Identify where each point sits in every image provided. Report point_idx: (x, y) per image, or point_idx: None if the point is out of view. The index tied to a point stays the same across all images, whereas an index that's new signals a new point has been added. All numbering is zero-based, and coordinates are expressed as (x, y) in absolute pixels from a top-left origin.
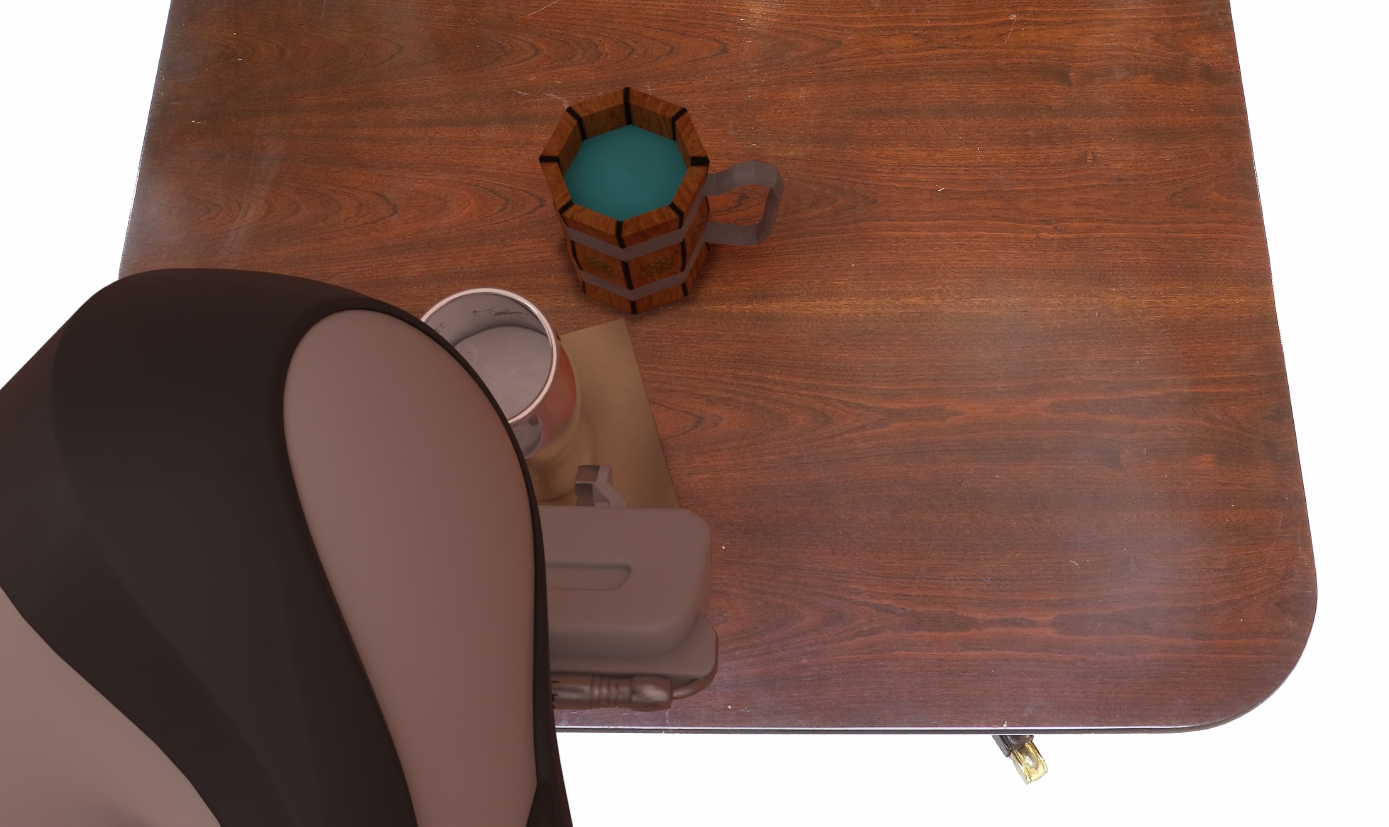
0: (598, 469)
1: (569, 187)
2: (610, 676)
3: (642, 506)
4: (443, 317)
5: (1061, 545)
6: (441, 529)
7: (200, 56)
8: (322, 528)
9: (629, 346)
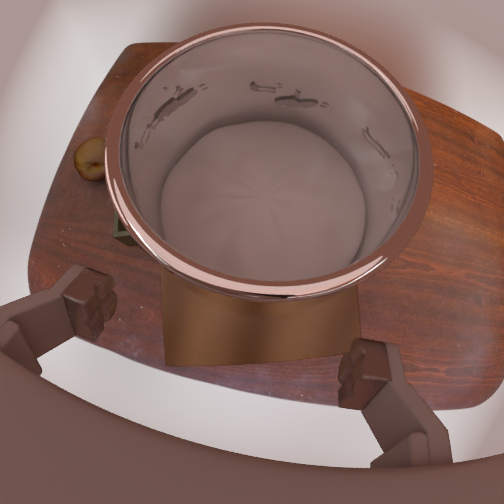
0: (386, 352)
1: None
2: None
3: (332, 330)
4: (209, 69)
5: (456, 337)
6: None
7: (128, 55)
8: None
9: None
